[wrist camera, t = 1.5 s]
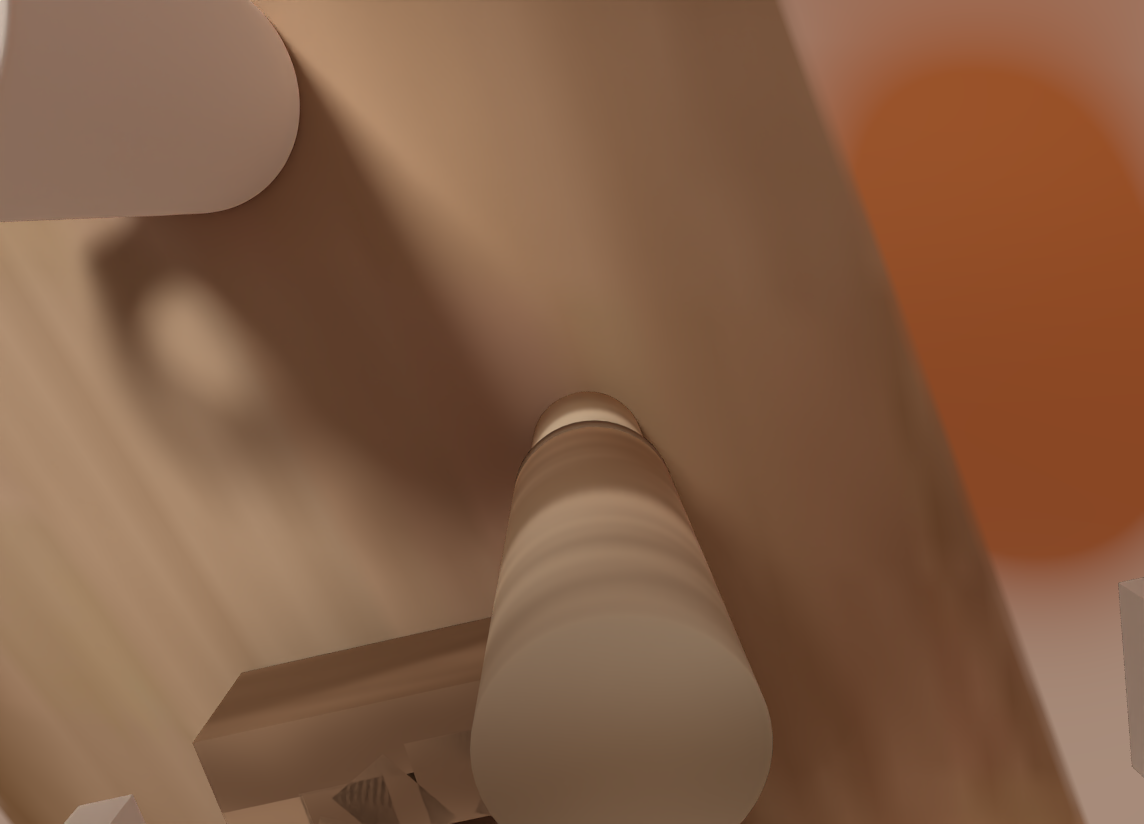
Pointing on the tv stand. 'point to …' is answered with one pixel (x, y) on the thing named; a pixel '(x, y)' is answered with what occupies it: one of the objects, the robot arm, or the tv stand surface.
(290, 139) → the mug
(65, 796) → the tv stand surface
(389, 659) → the beige flat square block
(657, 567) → the leg peg
